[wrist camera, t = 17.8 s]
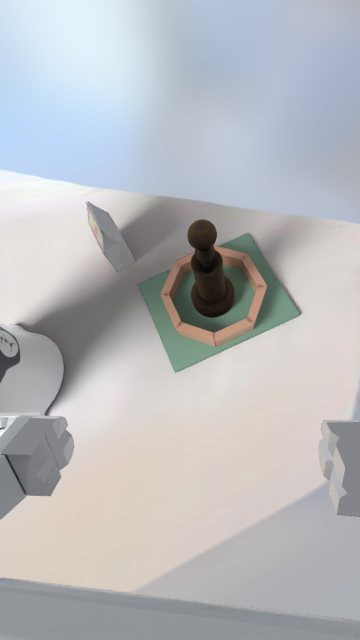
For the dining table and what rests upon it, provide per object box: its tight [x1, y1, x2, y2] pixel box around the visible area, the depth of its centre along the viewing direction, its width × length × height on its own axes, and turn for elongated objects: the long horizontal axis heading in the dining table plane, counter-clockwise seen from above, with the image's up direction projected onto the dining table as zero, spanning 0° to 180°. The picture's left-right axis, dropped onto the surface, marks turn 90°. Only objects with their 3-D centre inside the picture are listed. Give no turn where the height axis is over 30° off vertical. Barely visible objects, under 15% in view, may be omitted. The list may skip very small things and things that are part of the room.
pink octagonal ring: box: [161, 245, 267, 347], centre depth 45 cm, size 14×14×3 cm
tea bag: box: [86, 201, 136, 272], centre depth 48 cm, size 4×7×10 cm, turn 27°
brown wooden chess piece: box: [188, 220, 234, 318], centre depth 38 cm, size 7×6×18 cm
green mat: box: [138, 233, 300, 373], centre depth 46 cm, size 20×16×1 cm
